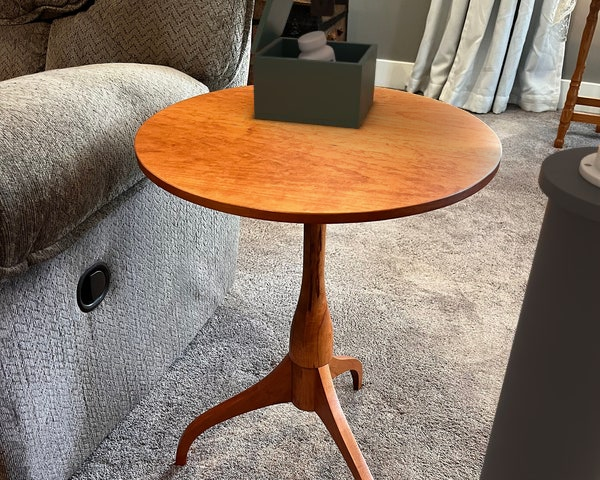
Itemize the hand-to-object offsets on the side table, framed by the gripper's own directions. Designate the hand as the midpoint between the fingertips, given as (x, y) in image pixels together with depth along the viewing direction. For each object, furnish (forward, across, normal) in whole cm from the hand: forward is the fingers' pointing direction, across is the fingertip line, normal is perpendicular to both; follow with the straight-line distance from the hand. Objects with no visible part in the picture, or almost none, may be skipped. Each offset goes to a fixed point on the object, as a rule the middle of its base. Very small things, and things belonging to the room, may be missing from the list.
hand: (330, 9), depth 91 cm
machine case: (+14, 0, +2) cm, 14 cm away
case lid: (-2, 0, +6) cm, 7 cm away
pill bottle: (+13, 0, 0) cm, 13 cm away
